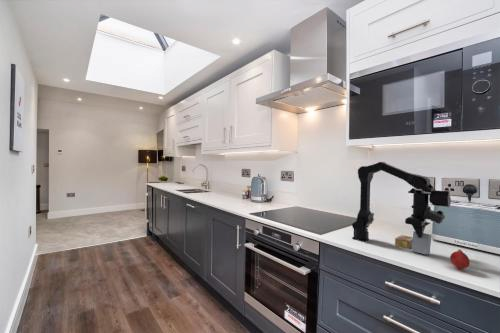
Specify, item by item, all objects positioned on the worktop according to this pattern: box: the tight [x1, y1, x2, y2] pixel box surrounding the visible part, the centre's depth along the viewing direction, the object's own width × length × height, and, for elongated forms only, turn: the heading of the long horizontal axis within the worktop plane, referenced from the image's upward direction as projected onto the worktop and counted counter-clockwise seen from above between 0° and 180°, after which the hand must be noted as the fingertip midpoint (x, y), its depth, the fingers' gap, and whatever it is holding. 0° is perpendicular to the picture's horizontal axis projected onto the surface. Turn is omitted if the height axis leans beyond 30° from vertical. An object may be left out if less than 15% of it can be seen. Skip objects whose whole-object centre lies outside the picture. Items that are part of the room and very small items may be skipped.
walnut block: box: [394, 234, 413, 250], centre depth 121 cm, size 6×4×9 cm
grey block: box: [410, 230, 433, 256], centre depth 110 cm, size 6×4×9 cm, turn 38°
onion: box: [449, 249, 471, 271], centre depth 94 cm, size 6×6×8 cm
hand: (419, 237), depth 109 cm, fingers closed
